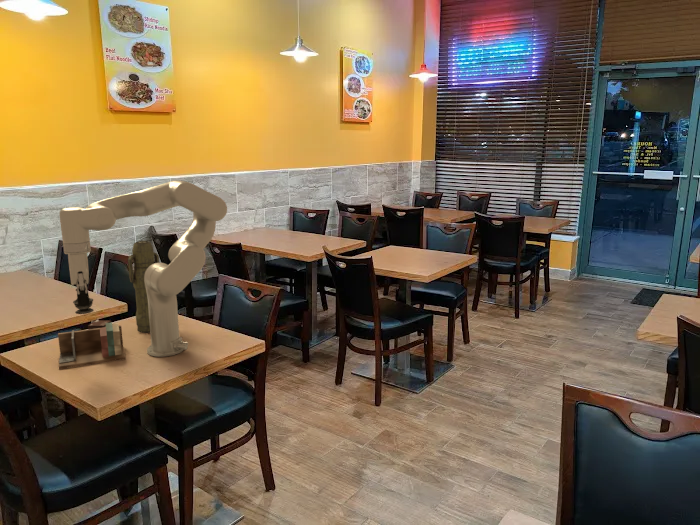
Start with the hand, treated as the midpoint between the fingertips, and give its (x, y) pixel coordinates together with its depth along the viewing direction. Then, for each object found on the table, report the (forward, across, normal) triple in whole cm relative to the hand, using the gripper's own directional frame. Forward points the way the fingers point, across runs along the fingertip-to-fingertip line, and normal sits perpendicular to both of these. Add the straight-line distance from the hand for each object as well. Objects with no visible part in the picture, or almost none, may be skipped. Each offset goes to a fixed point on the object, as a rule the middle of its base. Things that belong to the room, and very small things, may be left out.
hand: (83, 302), depth 172 cm
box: (+23, -24, +4) cm, 33 cm away
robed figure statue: (+23, -31, +22) cm, 44 cm away
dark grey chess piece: (+3, 0, 0) cm, 3 cm away
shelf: (+22, -9, +1) cm, 24 cm away
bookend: (+21, -10, -7) cm, 24 cm away
